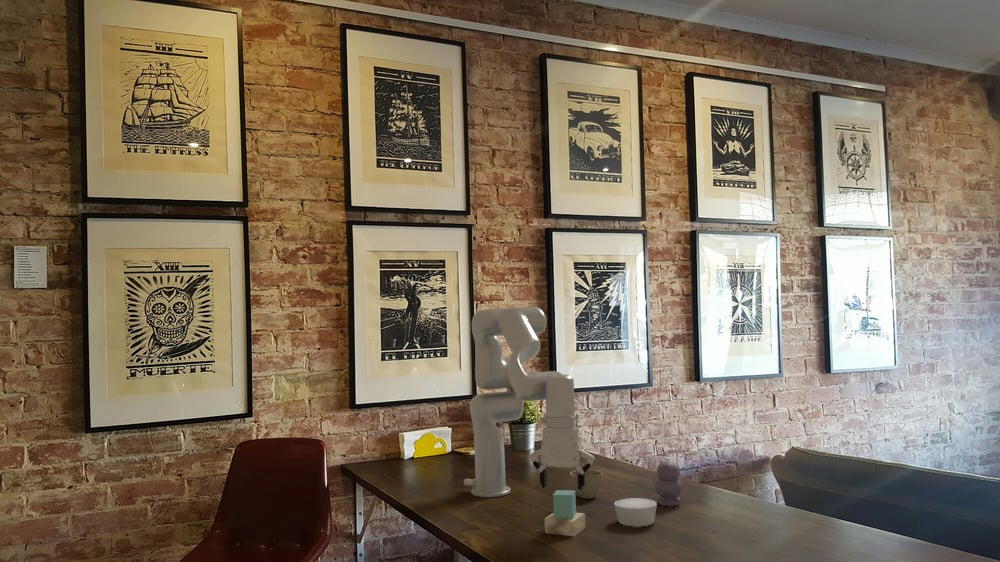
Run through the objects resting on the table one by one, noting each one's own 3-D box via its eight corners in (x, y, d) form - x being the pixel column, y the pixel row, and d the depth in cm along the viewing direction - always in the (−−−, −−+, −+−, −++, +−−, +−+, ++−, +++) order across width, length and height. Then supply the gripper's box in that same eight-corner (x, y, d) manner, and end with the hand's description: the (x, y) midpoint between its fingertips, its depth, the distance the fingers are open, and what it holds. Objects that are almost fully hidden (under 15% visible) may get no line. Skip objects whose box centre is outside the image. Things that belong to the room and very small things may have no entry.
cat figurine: (687, 506, 211) (685, 463, 212) (660, 507, 211) (658, 465, 211) (678, 498, 220) (676, 458, 220) (652, 500, 219) (650, 459, 220)
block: (553, 518, 191) (552, 494, 192) (557, 513, 196) (556, 490, 196) (573, 518, 190) (572, 495, 190) (576, 513, 195) (575, 490, 195)
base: (545, 534, 191) (544, 518, 191) (557, 525, 198) (556, 510, 198) (573, 537, 187) (573, 521, 188) (585, 528, 195) (584, 513, 195)
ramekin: (612, 517, 203) (611, 498, 203) (653, 516, 203) (652, 496, 203) (617, 529, 192) (616, 509, 192) (661, 528, 192) (660, 507, 192)
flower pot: (602, 501, 221) (601, 476, 221) (569, 500, 223) (568, 476, 223) (604, 492, 230) (603, 469, 231) (572, 492, 232) (571, 469, 233)
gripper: (525, 423, 193) (526, 489, 193) (590, 425, 188) (592, 493, 188) (532, 418, 200) (534, 482, 200) (595, 420, 195) (597, 485, 195)
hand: (562, 487), depth 194 cm, fingers open, 9 cm apart
